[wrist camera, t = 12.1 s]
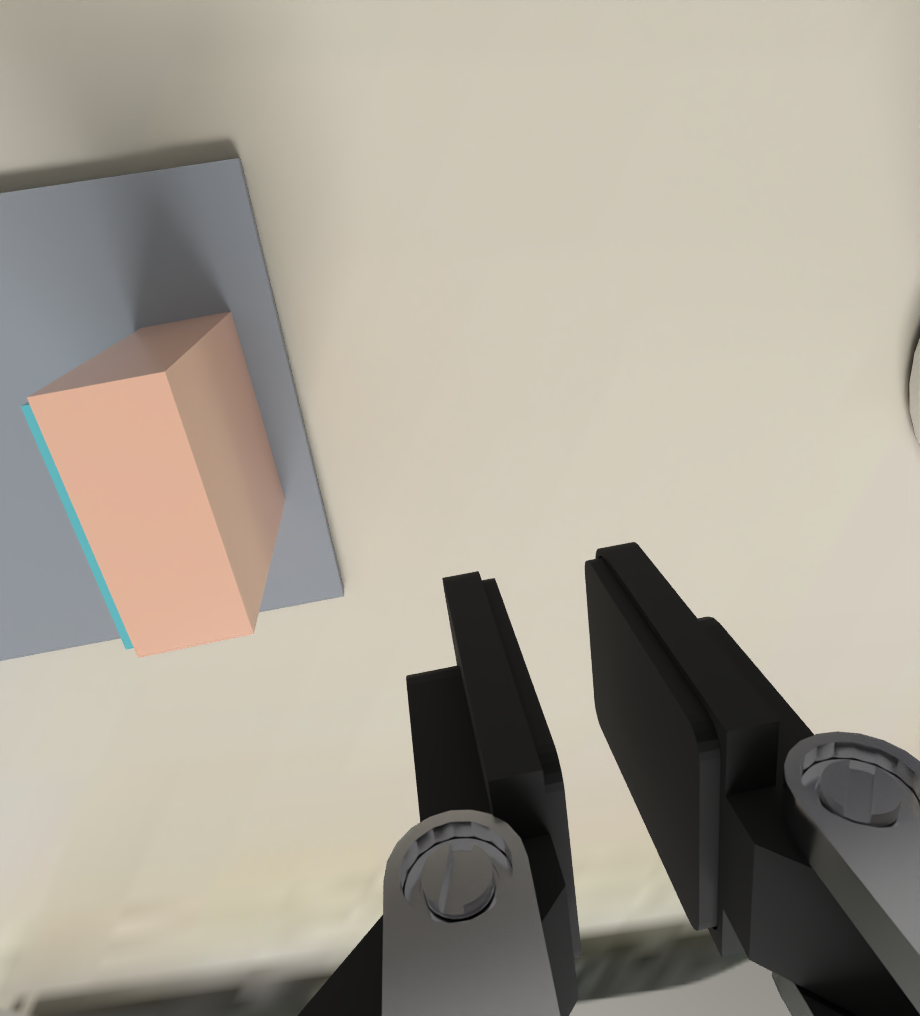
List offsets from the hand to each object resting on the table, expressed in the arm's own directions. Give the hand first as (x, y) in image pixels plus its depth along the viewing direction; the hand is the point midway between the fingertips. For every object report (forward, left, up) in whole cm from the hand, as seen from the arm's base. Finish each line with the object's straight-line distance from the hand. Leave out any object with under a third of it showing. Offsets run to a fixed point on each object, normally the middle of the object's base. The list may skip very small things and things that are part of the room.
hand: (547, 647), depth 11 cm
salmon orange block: (+8, 0, -17) cm, 18 cm away
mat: (+13, 0, -17) cm, 21 cm away
